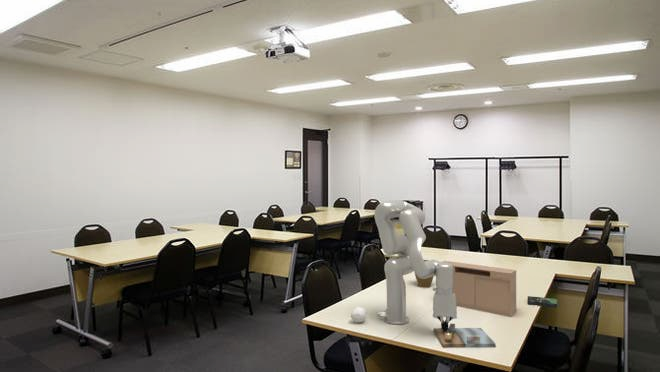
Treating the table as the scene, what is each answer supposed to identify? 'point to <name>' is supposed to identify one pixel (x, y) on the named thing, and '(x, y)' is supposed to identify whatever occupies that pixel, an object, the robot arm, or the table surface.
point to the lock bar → (450, 333)
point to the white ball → (358, 314)
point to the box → (484, 288)
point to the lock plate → (465, 338)
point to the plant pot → (424, 281)
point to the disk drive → (542, 301)
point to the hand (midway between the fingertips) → (444, 330)
